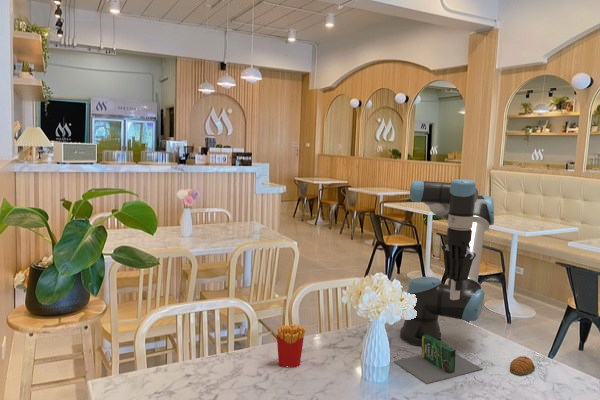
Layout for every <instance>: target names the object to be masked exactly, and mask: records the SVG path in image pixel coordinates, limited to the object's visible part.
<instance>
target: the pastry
mask: <svg viewBox="0 0 600 400" xmlns="http://www.w3.org/2000/svg"><path fill="white" fill-rule="evenodd" d="M509 364H510V365H509V371H510V373H513V374H515V375H519V376H523V375H529V374H531V373H532V372H534V370H535V369H536V366H535V363H534V362H533V359H531V358H530V357H528V356H525V355H524V356H523V355H522V356H521V355H520V356H518V357H516V358H514V359H513V360H511V362H510V363H509Z"/></svg>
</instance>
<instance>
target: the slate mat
mask: <svg viewBox="0 0 600 400" xmlns="http://www.w3.org/2000/svg"><path fill="white" fill-rule="evenodd" d="M393 362H394V363H395V364H396V365H397V366H399V367H400V368H402V369H403V370H404V371H406V372H408V373H410V374H411V375H412V376H413V377H415V378H417V379H418V380H419V381H420V382H422V383H424V384H425V385H429V384H433V383H437V382H441V381H445V380H448V379H452V378H453V379H454V378H456V377H459V376H460V377H461V376H464V375H468V374H472V373H475V372H476V373H477V372H479V371H483V370H484V369H483V368H482V367H481V366H479V365H477V364H475V363H473V362H471V361H469V360H468V359H466V358H464V357H463V356H460V355H459V354H457V353H456V356H455V372H452V373H448V372H446V371H444V370H442V369H441V368H439V367H437V366H436V365H434V364H432V363H431V362H429V361H427V360H426V359H424V358H422V354H419V355H415V356H411V357H407V358H401V359H396V360H393Z"/></svg>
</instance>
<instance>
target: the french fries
mask: <svg viewBox="0 0 600 400" xmlns="http://www.w3.org/2000/svg"><path fill="white" fill-rule="evenodd" d="M276 329H277V335H276V344H277V345H276V346H277V356H278V357H277V358H278V359H277V360H278V366H279V365H280V366H279V367H281V366H282V367H281V368H286V367H285V366H288V367H287V368H298V367H300V366H299V365H301V360H302V359H301V358H302V352H303V346H304V340H305V339H304V335H305V333H306V327H305V326H301V325H300V324H299V325H298V324H295V323H294V324H292V323H290V325H287V324H283V325H281V326H277V328H276ZM297 366H298V367H297Z"/></svg>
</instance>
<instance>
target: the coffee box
mask: <svg viewBox="0 0 600 400" xmlns="http://www.w3.org/2000/svg"><path fill="white" fill-rule="evenodd" d="M456 354H457V350H456V348H453V347H451V346H450V345H448V344H446V343H444V342H443V341H442V340H441V341H439V340H437V339H435V338H433V337H431V336H429V335H424V336H422V346H421V355H422V358H424V359H426V360H427V361H429V362H431V363H432V364H434V365H436V366H437V367H439V368H441V369H442V370H444V371H446V372H448V373H452V372H455V356H456Z"/></svg>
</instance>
